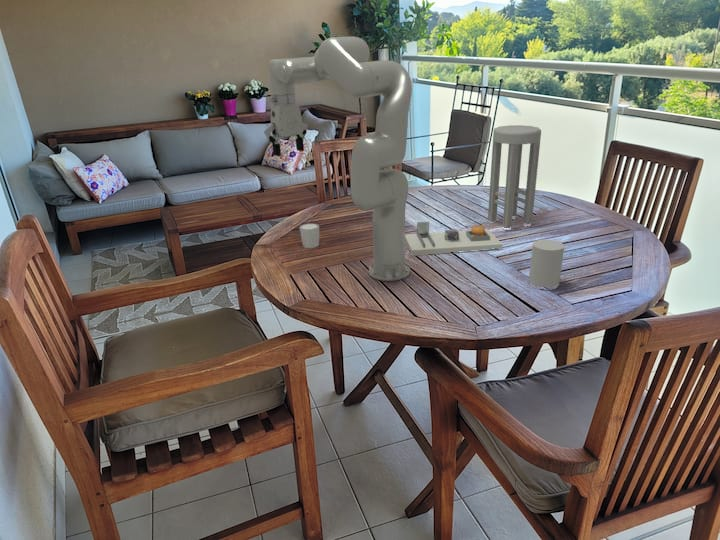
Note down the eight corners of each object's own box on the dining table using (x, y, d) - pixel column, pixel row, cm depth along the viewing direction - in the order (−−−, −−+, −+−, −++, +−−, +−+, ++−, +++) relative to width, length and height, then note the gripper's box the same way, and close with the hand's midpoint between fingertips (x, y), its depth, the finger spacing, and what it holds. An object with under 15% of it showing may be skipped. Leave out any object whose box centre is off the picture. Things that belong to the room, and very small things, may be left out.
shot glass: (297, 247, 181) (295, 228, 178) (308, 240, 186) (306, 222, 183) (313, 250, 178) (312, 230, 175) (324, 243, 183) (323, 224, 180)
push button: (486, 234, 174) (486, 229, 173) (473, 235, 174) (473, 230, 173) (482, 230, 178) (482, 225, 177) (469, 231, 178) (470, 225, 177)
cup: (552, 277, 150) (557, 238, 146) (563, 289, 143) (569, 249, 138) (524, 278, 150) (528, 240, 145) (534, 291, 143) (538, 251, 138)
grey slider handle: (429, 237, 178) (429, 223, 176) (418, 238, 178) (418, 224, 176) (427, 234, 181) (428, 220, 179) (416, 235, 181) (416, 221, 179)
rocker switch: (458, 237, 173) (458, 231, 173) (449, 238, 173) (449, 232, 172) (454, 235, 178) (454, 229, 178) (445, 235, 178) (445, 229, 178)
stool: (504, 234, 184) (512, 133, 170) (479, 221, 198) (485, 127, 183) (540, 227, 189) (550, 129, 175) (513, 215, 203) (521, 123, 188)
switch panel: (501, 249, 171) (502, 239, 169) (411, 256, 169) (411, 245, 168) (487, 234, 185) (488, 224, 183) (404, 239, 183) (404, 229, 181)
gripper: (268, 103, 160) (274, 158, 167) (311, 97, 171) (315, 150, 178) (255, 102, 165) (261, 156, 172) (297, 96, 176) (302, 147, 183)
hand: (289, 153), depth 175 cm, fingers open, 9 cm apart
